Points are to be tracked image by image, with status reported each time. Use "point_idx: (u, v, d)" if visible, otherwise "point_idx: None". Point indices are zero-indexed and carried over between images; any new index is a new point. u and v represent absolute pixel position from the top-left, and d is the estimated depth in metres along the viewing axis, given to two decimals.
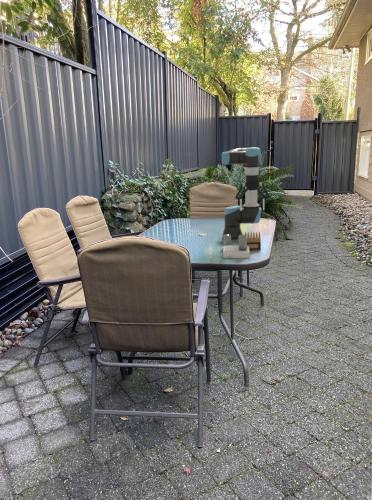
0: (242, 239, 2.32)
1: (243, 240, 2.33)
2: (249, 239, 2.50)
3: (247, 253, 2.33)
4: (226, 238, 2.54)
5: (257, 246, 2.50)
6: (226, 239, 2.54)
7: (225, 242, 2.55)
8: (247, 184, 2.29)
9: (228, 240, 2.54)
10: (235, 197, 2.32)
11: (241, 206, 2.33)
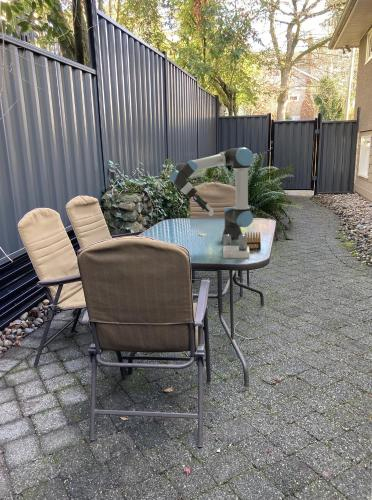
0: (242, 239, 2.32)
1: (243, 240, 2.33)
2: (249, 239, 2.50)
3: (247, 253, 2.33)
4: (226, 238, 2.54)
5: (257, 246, 2.50)
6: (226, 239, 2.54)
7: (225, 242, 2.55)
8: None
9: (228, 240, 2.54)
10: None
11: None
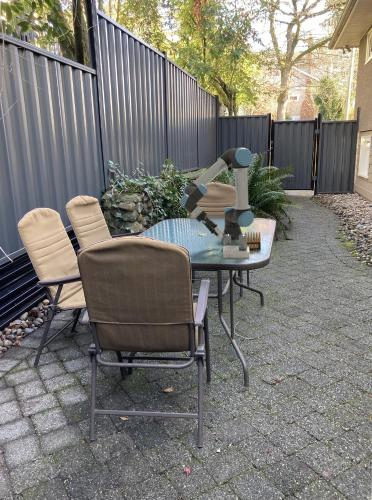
0: (242, 239, 2.32)
1: (243, 240, 2.33)
2: (249, 239, 2.50)
3: (247, 253, 2.33)
4: (226, 238, 2.54)
5: (257, 246, 2.50)
6: (226, 239, 2.54)
7: (225, 242, 2.55)
8: None
9: (228, 240, 2.54)
10: None
11: (218, 232, 2.62)
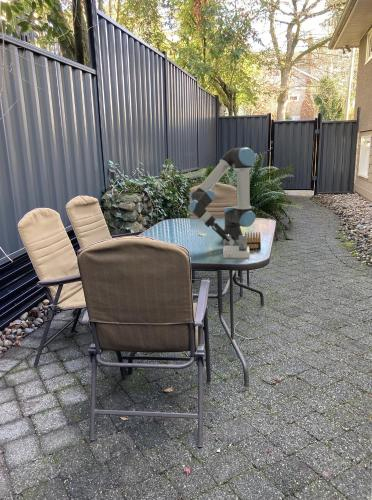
0: (242, 239, 2.32)
1: (243, 240, 2.33)
2: (249, 239, 2.50)
3: (247, 253, 2.33)
4: None
5: (257, 246, 2.50)
6: None
7: (225, 242, 2.55)
8: None
9: None
10: None
11: None
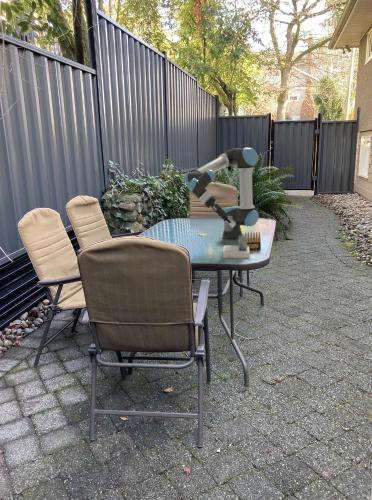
0: (242, 239, 2.32)
1: (243, 240, 2.33)
2: (249, 239, 2.50)
3: (247, 253, 2.33)
4: None
5: (257, 246, 2.50)
6: None
7: (226, 224, 2.40)
8: None
9: None
10: None
11: None
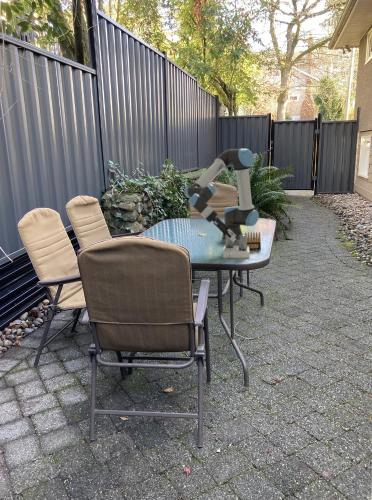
0: (242, 239, 2.32)
1: (243, 240, 2.33)
2: (249, 239, 2.50)
3: (247, 253, 2.33)
4: None
5: (257, 246, 2.50)
6: None
7: (227, 240, 2.41)
8: None
9: None
10: None
11: None
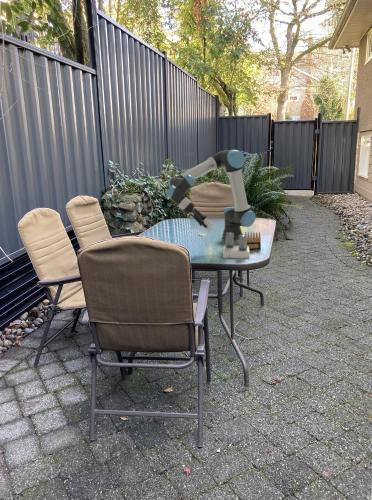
0: (242, 239, 2.32)
1: (243, 240, 2.33)
2: (249, 239, 2.50)
3: (247, 253, 2.33)
4: (228, 236, 2.40)
5: (257, 246, 2.50)
6: (228, 237, 2.40)
7: (227, 240, 2.41)
8: None
9: (231, 238, 2.41)
10: None
11: (208, 224, 2.52)
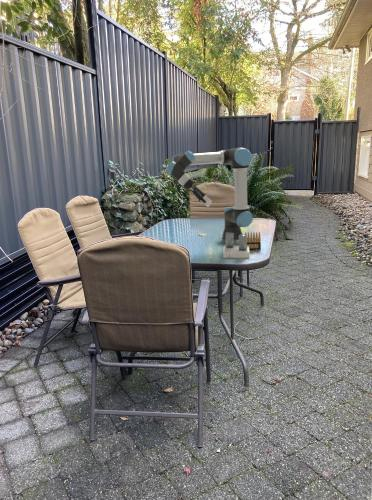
0: (242, 239, 2.32)
1: (243, 240, 2.33)
2: (249, 239, 2.50)
3: (247, 253, 2.33)
4: (228, 236, 2.40)
5: (257, 246, 2.50)
6: (228, 237, 2.40)
7: (227, 240, 2.41)
8: None
9: (231, 238, 2.41)
10: None
11: None
